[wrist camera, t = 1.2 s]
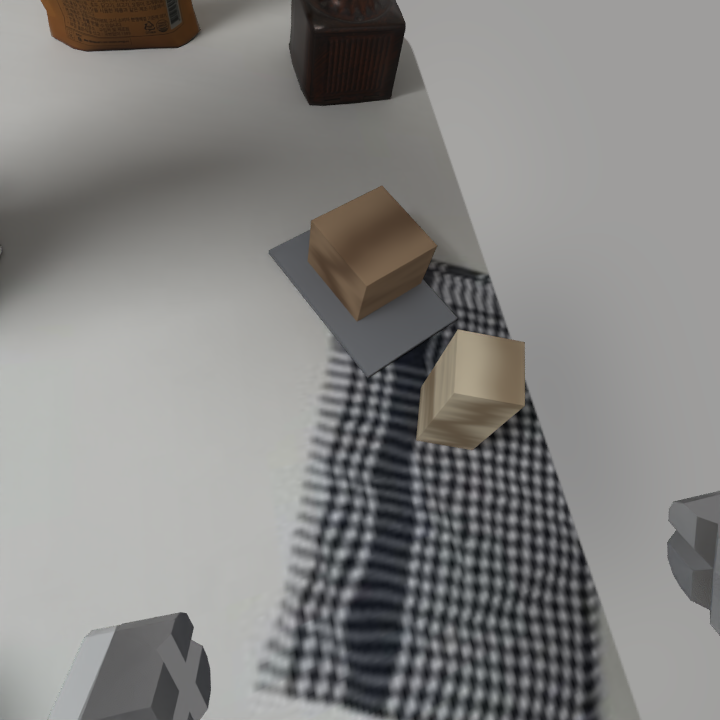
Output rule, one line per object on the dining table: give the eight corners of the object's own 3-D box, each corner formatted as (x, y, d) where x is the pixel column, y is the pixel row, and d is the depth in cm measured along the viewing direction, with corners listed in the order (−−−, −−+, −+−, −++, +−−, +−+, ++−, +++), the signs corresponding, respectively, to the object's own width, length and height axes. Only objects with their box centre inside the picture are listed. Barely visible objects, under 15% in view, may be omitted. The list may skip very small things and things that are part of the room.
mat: (268, 253, 52) (268, 250, 52) (357, 208, 56) (358, 205, 56) (367, 378, 48) (368, 376, 48) (456, 320, 52) (457, 318, 52)
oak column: (416, 440, 46) (454, 392, 36) (421, 387, 48) (457, 329, 39) (472, 450, 46) (524, 405, 37) (474, 397, 49) (524, 342, 39)
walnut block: (307, 261, 52) (311, 220, 47) (371, 227, 55) (382, 185, 50) (356, 321, 50) (366, 286, 45) (420, 283, 53) (437, 245, 47)
